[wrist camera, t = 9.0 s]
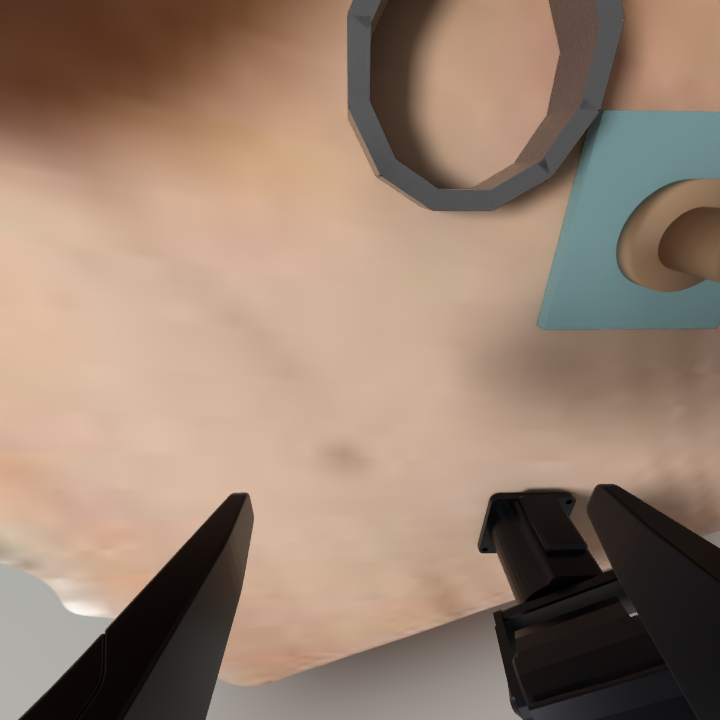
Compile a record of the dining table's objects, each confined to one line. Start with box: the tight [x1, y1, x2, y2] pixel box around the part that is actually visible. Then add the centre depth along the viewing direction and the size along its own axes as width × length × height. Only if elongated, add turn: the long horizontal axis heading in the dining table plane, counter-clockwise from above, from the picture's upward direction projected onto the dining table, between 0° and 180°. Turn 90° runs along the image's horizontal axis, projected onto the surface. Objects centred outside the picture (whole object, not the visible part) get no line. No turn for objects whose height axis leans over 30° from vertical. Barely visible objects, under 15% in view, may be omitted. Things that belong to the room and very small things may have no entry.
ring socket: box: [347, 0, 624, 211], centre depth 13 cm, size 10×10×2 cm
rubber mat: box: [537, 110, 720, 330], centre depth 17 cm, size 10×10×1 cm
